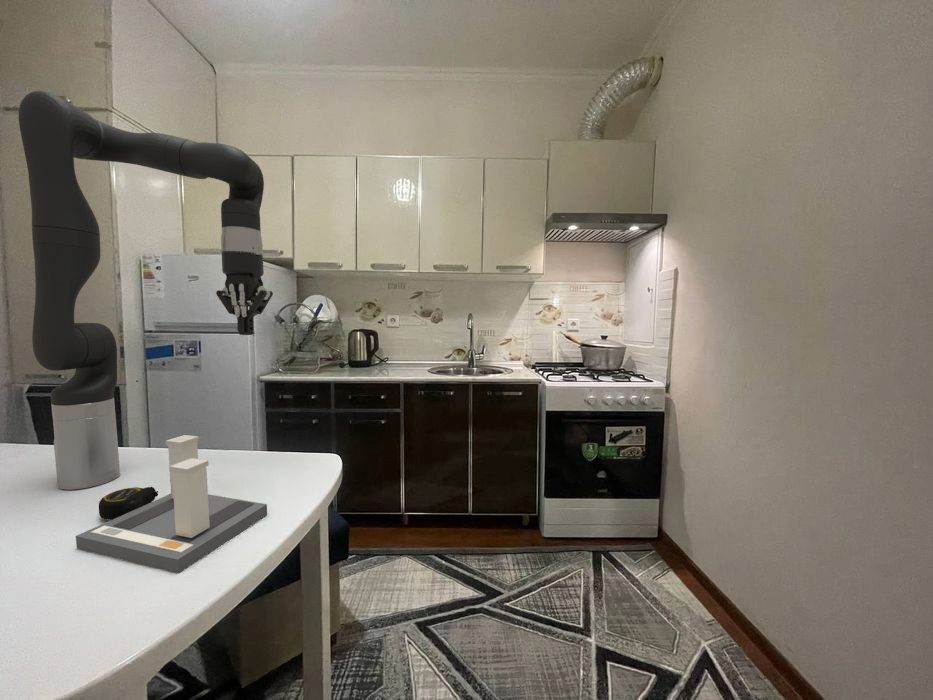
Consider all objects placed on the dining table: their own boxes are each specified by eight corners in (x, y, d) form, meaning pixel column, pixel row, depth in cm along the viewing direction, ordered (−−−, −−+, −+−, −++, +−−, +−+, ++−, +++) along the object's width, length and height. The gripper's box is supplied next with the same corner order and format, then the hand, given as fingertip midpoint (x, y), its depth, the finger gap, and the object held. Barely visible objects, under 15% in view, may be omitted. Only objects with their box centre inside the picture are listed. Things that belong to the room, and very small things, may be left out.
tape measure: (136, 522, 65) (135, 501, 65) (88, 526, 64) (87, 505, 64) (159, 503, 72) (157, 484, 72) (116, 506, 71) (115, 487, 70)
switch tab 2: (173, 535, 58) (169, 466, 57) (194, 523, 61) (191, 458, 60) (191, 539, 57) (187, 469, 56) (211, 526, 60) (208, 460, 59)
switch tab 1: (169, 498, 69) (165, 440, 68) (187, 490, 72) (184, 434, 71) (184, 501, 68) (180, 442, 67) (201, 492, 71) (198, 436, 70)
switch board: (76, 548, 58) (75, 534, 58) (180, 499, 73) (180, 488, 73) (178, 573, 53) (177, 558, 52) (267, 514, 68) (266, 503, 68)
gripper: (201, 250, 78) (205, 335, 80) (254, 248, 75) (257, 336, 76) (232, 255, 85) (235, 333, 87) (282, 254, 82) (284, 334, 84)
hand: (246, 334), depth 82 cm, fingers closed
